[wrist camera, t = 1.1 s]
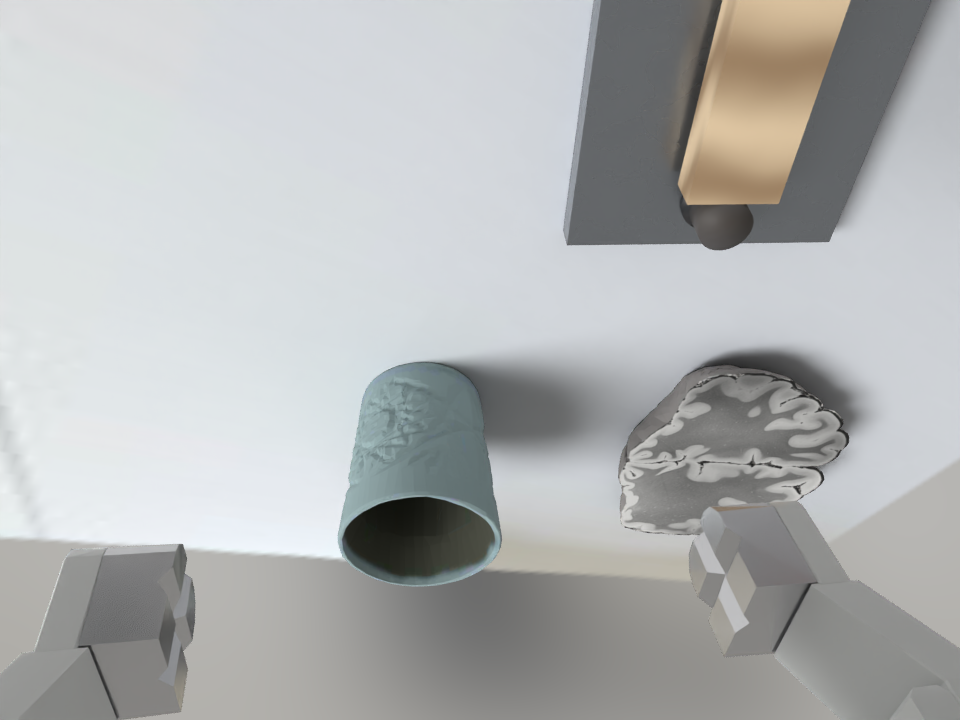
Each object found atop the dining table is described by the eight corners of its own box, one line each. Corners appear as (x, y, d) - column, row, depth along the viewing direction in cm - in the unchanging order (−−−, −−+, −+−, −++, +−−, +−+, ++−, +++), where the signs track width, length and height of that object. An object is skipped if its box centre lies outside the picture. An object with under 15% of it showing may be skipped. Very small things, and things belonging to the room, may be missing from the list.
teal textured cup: (481, 447, 61) (494, 586, 53) (349, 447, 60) (341, 589, 52) (493, 353, 54) (510, 496, 46) (344, 351, 53) (333, 498, 44)
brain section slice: (770, 508, 71) (782, 537, 69) (588, 503, 68) (594, 533, 66) (878, 352, 57) (897, 381, 55) (656, 337, 55) (666, 368, 52)
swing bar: (751, 229, 45) (762, 249, 44) (666, 229, 45) (675, 250, 44) (861, -102, 34) (881, -89, 32) (748, -105, 33) (763, -91, 32)
